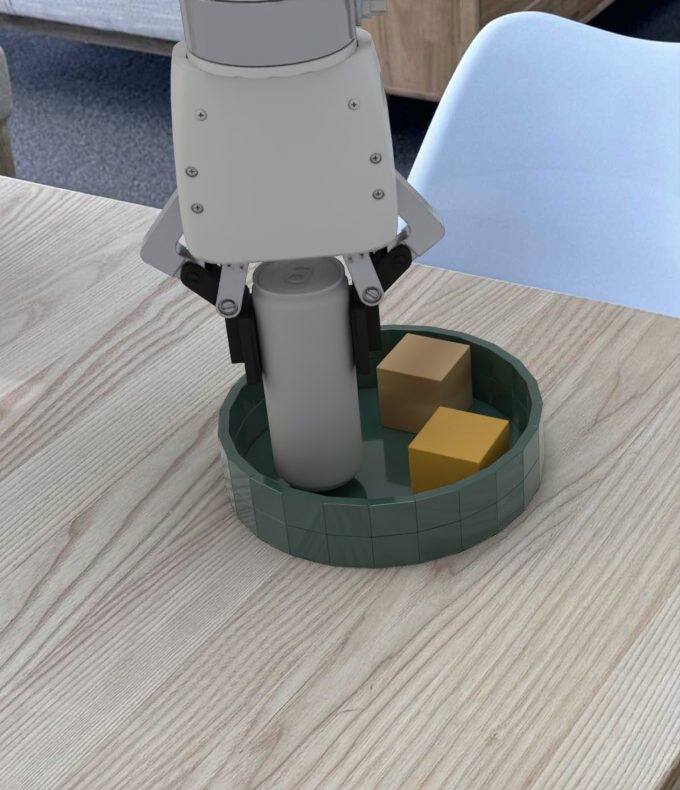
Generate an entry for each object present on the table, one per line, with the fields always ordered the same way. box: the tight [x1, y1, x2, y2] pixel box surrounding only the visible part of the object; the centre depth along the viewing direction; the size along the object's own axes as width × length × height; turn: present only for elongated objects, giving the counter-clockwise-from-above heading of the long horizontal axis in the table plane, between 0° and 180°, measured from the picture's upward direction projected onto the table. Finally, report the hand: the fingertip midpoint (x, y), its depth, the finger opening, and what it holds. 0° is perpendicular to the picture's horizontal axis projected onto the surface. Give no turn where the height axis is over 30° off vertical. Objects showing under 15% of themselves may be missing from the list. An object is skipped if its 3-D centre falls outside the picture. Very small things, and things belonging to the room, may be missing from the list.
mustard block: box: [408, 407, 510, 495], centre depth 73 cm, size 4×4×4 cm
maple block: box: [376, 333, 473, 434], centre depth 80 cm, size 4×4×4 cm
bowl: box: [216, 323, 545, 569], centre depth 76 cm, size 17×17×4 cm
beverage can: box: [251, 256, 364, 491], centre depth 72 cm, size 5×5×12 cm
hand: (308, 363), depth 72 cm, fingers closed on beverage can, 4 cm apart
